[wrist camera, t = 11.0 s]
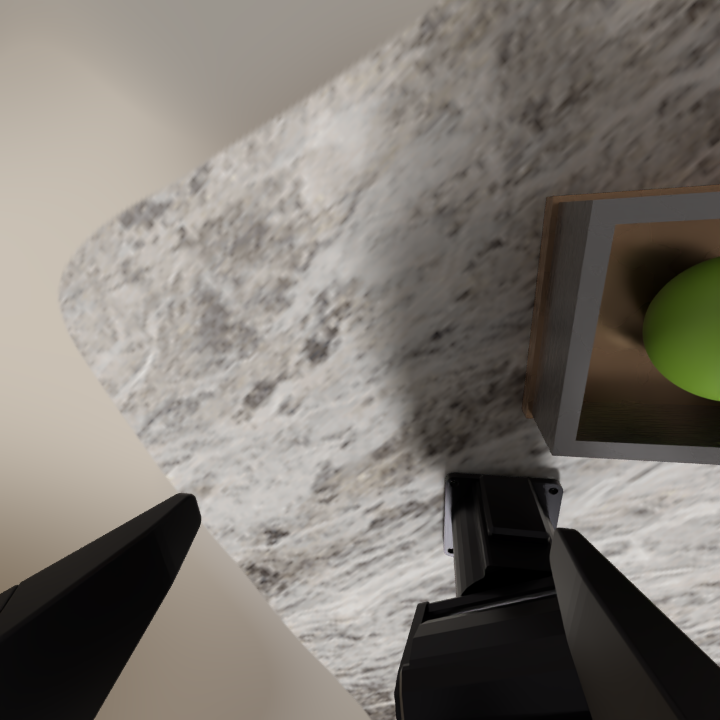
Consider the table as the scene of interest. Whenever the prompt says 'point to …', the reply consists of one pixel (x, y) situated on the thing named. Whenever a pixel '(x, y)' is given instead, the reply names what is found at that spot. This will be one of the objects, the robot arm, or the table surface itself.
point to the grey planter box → (616, 325)
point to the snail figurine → (687, 330)
